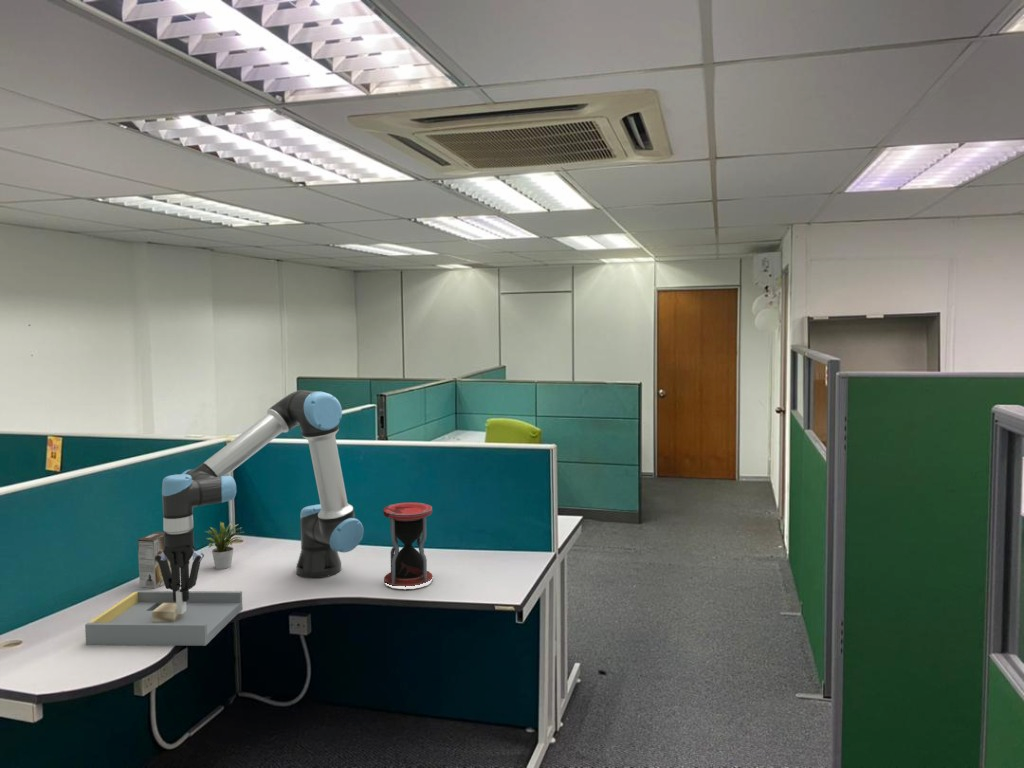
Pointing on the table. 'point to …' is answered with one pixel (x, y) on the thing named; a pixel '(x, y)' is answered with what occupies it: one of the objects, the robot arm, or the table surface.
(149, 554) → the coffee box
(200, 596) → the box
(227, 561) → the house plant
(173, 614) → the block
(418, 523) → the hourglass
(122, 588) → the table surface
